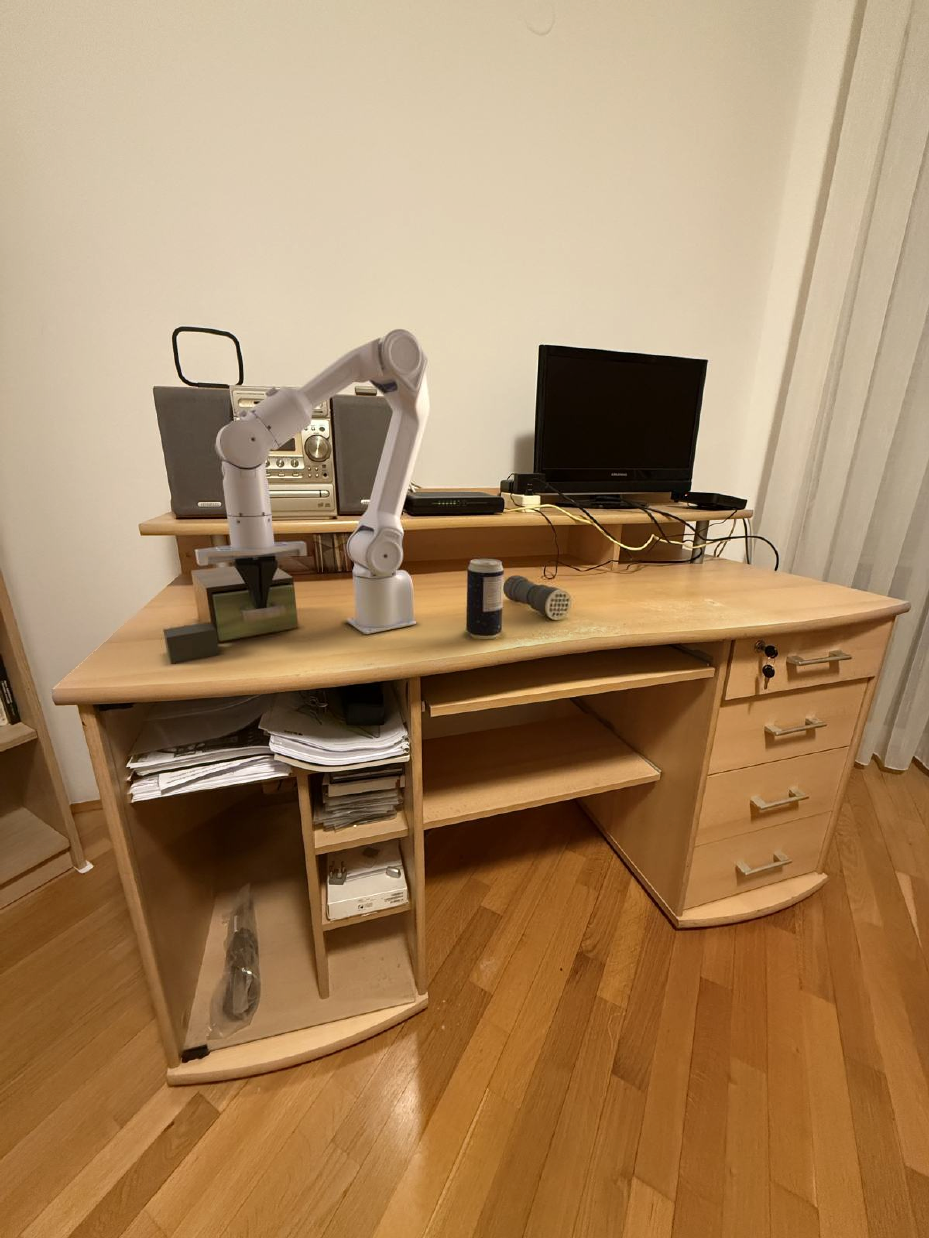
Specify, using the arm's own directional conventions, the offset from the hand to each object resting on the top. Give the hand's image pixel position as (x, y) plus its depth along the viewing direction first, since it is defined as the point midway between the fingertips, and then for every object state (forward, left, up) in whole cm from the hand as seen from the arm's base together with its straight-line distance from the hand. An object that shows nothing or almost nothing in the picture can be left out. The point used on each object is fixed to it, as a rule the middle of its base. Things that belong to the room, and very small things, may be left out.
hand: (260, 608), depth 72 cm
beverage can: (-30, +16, -6) cm, 34 cm away
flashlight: (-47, +10, -6) cm, 48 cm away
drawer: (0, -6, -5) cm, 7 cm away
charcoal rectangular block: (+9, 0, -6) cm, 11 cm away
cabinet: (0, -10, -6) cm, 12 cm away
